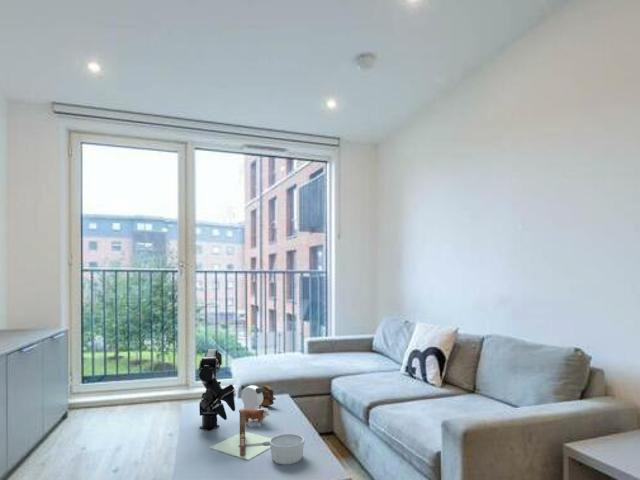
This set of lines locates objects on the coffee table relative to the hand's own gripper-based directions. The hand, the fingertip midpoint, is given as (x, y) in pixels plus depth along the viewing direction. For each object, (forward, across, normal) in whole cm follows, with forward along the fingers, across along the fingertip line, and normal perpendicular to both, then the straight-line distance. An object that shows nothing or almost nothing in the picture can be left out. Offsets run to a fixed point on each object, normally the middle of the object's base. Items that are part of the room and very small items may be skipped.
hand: (230, 415), depth 179 cm
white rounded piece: (+4, -18, +20) cm, 27 cm away
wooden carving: (+2, -28, +36) cm, 45 cm away
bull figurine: (+9, -10, +14) cm, 19 cm away
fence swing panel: (+11, 0, -1) cm, 11 cm away
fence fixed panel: (+15, +7, -7) cm, 18 cm away
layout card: (+14, +3, -3) cm, 15 cm away
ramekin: (+28, +20, -1) cm, 35 cm away
